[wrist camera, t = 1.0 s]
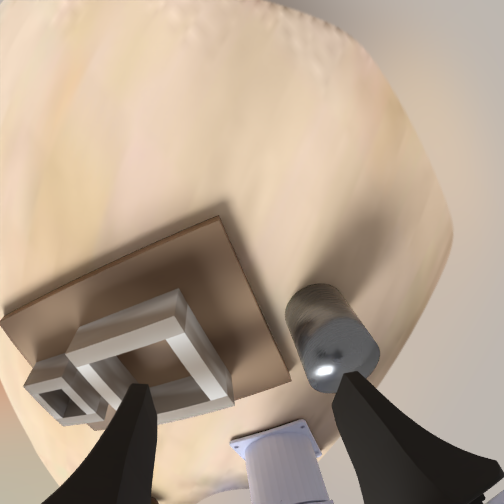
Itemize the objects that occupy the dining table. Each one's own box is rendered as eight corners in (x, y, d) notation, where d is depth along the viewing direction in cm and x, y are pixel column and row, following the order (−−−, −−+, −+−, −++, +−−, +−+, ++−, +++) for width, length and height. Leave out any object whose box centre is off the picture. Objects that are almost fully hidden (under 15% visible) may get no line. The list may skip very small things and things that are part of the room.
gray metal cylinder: (348, 321, 22) (382, 373, 16) (294, 343, 22) (317, 402, 17) (336, 274, 20) (376, 324, 15) (276, 298, 20) (299, 357, 15)
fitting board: (288, 372, 23) (300, 409, 19) (96, 423, 24) (88, 454, 20) (218, 215, 18) (220, 238, 14) (4, 316, 18) (-19, 344, 14)
